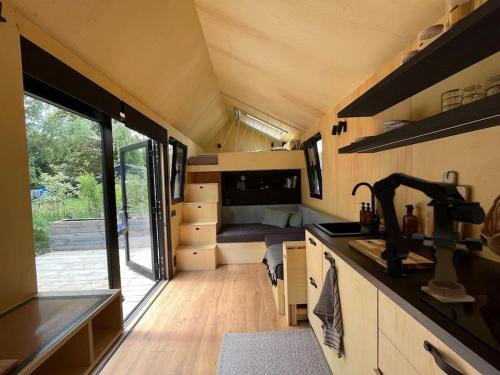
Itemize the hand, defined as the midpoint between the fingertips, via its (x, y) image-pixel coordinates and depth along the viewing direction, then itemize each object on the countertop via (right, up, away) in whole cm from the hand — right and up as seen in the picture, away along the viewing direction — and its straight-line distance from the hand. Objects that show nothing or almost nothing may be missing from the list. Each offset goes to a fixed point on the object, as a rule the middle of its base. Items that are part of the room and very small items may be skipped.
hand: (445, 266), depth 84 cm
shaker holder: (0, -10, 0) cm, 10 cm away
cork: (0, -4, 0) cm, 4 cm away
